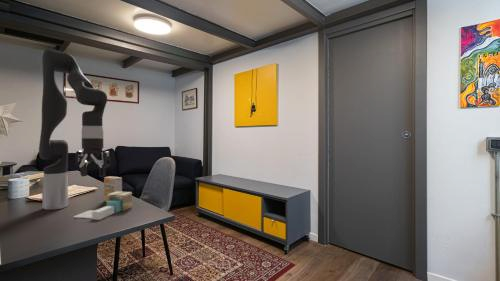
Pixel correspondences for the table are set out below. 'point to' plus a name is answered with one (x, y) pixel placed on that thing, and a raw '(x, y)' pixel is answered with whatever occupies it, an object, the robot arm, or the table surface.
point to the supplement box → (112, 186)
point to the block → (115, 204)
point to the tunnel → (125, 199)
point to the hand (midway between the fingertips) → (93, 176)
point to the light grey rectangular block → (102, 212)
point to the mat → (85, 215)
